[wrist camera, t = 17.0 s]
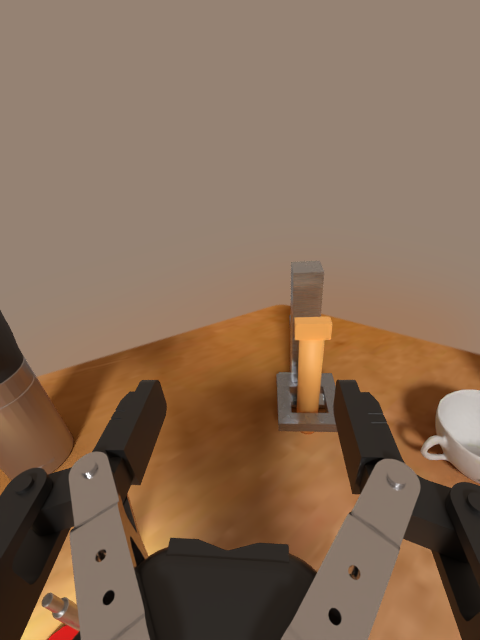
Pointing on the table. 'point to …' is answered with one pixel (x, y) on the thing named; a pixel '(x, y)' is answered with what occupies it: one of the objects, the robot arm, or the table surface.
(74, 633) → the red handwheel with stem
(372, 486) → the robot arm
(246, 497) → the table surface
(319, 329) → the wedge pin
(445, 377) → the table surface
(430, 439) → the teacup
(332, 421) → the scaffold post with crossbars
